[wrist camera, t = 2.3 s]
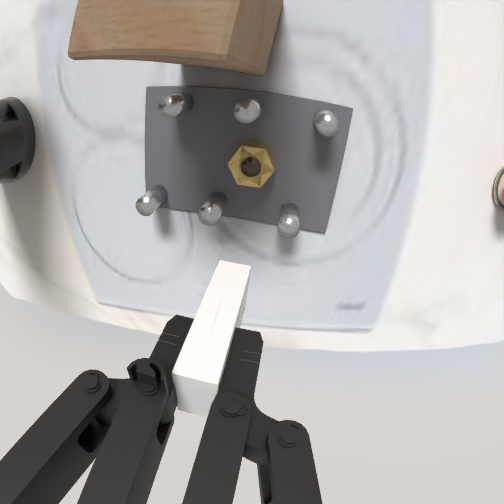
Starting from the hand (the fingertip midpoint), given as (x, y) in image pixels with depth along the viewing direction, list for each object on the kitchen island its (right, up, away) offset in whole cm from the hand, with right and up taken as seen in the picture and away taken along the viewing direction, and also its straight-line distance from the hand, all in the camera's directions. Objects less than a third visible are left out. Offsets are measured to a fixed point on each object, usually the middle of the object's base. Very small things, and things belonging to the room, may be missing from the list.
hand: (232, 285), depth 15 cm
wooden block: (-1, +26, +11) cm, 29 cm away
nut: (+1, +12, +19) cm, 22 cm away
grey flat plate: (-1, +13, +19) cm, 23 cm away
